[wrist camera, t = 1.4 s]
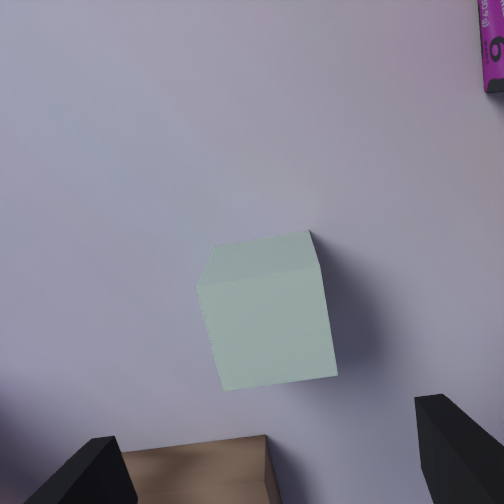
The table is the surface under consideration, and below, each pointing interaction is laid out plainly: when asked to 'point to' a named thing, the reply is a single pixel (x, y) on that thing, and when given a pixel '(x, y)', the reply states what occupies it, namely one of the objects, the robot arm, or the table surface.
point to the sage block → (267, 312)
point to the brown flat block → (205, 473)
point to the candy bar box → (492, 43)
